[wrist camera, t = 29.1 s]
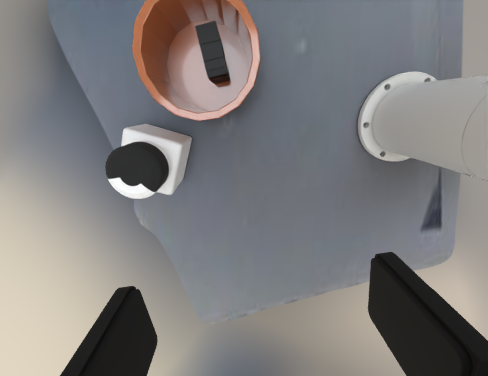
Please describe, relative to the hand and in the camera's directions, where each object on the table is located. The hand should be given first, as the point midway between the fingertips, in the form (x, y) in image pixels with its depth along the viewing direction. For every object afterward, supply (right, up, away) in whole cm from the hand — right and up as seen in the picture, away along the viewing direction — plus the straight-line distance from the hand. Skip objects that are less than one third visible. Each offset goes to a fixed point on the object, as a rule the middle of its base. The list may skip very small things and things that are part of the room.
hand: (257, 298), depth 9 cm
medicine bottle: (-13, +10, +26) cm, 31 cm away
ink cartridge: (-4, +21, +22) cm, 31 cm away
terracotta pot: (-5, +21, +22) cm, 31 cm away
